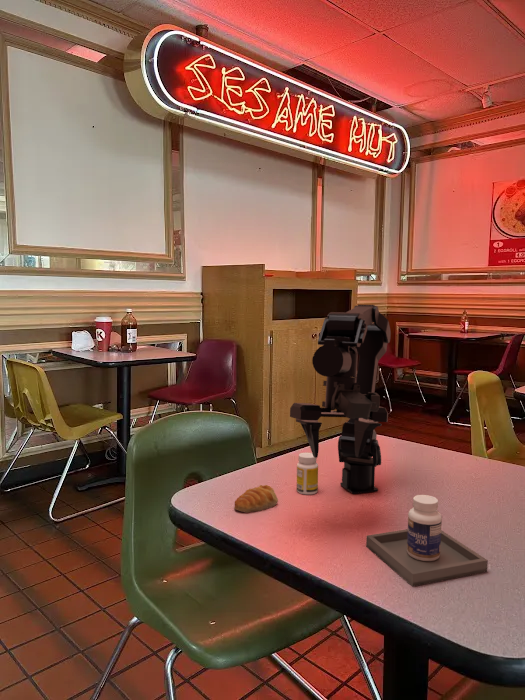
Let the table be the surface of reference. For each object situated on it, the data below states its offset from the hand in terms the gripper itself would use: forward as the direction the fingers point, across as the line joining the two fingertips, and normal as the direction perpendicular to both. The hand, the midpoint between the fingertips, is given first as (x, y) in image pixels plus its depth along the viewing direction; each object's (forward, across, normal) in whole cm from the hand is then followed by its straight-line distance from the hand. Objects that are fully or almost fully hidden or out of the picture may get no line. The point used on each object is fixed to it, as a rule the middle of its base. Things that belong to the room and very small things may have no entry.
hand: (336, 457), depth 106 cm
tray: (+14, +8, -17) cm, 24 cm away
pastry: (+13, -11, +14) cm, 22 cm away
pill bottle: (+14, +8, -17) cm, 23 cm away
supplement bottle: (+11, +2, +18) cm, 21 cm away
